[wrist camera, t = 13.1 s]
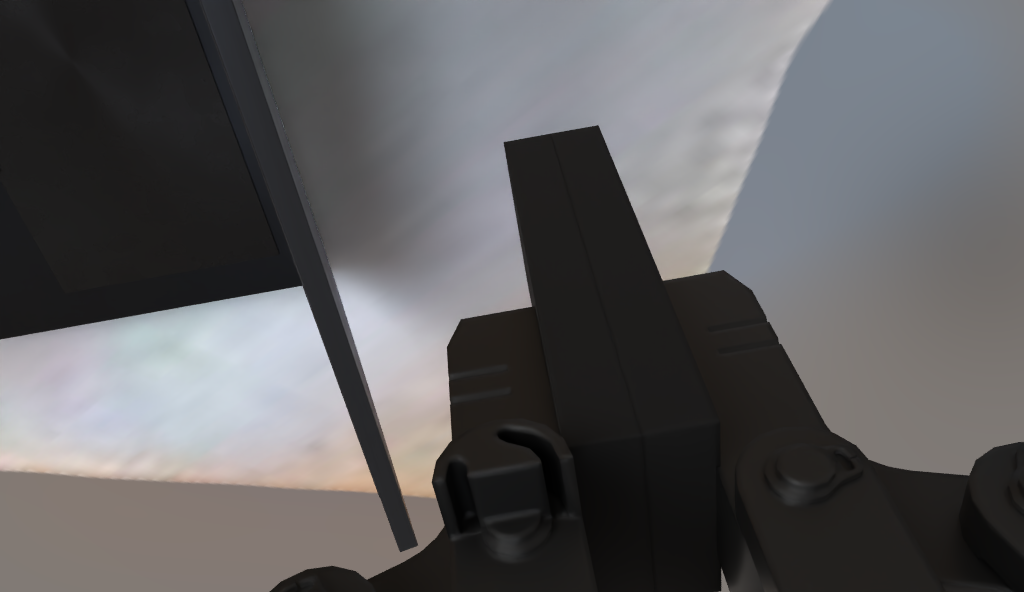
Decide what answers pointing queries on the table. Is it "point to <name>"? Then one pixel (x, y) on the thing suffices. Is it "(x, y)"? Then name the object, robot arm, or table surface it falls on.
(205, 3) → the laptop screen
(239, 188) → the laptop
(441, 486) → the robot arm
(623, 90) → the table surface
